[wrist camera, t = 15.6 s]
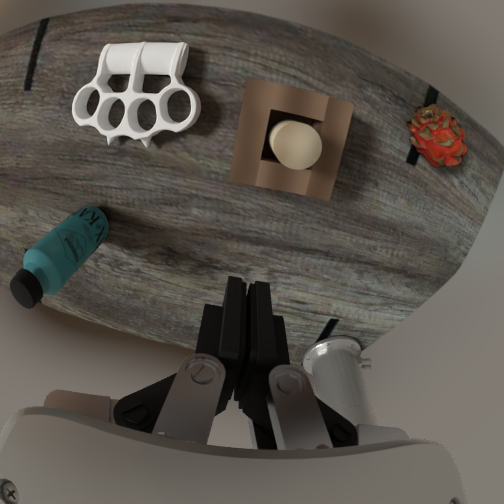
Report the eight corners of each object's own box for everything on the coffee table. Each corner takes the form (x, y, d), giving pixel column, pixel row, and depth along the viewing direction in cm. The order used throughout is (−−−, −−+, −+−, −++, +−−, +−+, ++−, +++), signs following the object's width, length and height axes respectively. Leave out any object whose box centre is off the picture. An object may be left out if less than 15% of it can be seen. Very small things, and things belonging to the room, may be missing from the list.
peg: (306, 123, 31) (328, 129, 22) (297, 157, 33) (315, 175, 24) (270, 114, 30) (279, 116, 22) (262, 149, 32) (267, 164, 24)
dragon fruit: (389, 107, 31) (437, 140, 35) (394, 156, 30) (443, 186, 34) (429, 81, 23) (474, 124, 27) (442, 133, 22) (485, 173, 26)
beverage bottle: (98, 245, 40) (32, 328, 22) (74, 215, 37) (-4, 286, 20) (122, 224, 38) (51, 308, 21) (96, 191, 35) (9, 258, 18)
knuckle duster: (215, 48, 27) (193, 152, 34) (94, 48, 25) (80, 142, 32) (211, 42, 24) (188, 156, 31) (82, 45, 22) (68, 145, 29)
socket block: (337, 104, 30) (354, 104, 25) (317, 186, 36) (329, 200, 31) (247, 83, 29) (247, 77, 24) (231, 170, 35) (228, 181, 29)
